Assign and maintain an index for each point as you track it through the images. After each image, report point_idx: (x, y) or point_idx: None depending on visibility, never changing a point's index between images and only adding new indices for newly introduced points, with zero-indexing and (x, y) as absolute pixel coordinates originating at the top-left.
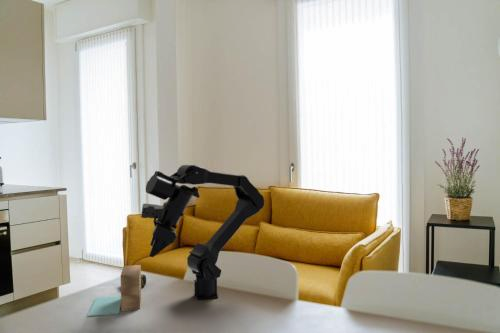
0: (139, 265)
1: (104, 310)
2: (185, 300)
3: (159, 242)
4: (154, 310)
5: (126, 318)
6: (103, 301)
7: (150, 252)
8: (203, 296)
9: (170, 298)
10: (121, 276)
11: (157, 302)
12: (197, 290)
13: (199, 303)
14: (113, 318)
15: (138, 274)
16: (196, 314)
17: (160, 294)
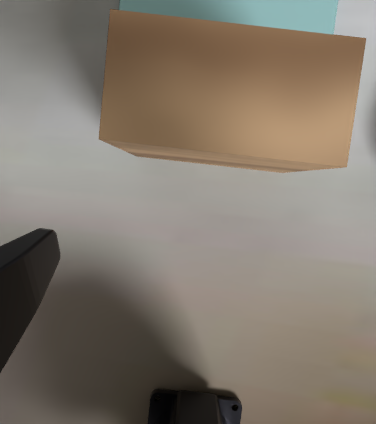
0: (332, 157)
1: (160, 9)
2: (168, 344)
3: None
4: (101, 211)
5: (54, 98)
6: (278, 3)
7: (5, 244)
8: (157, 421)
9: (216, 290)
10: (112, 19)
11: (188, 232)
12: (171, 416)
13: (114, 388)
14: (72, 48)
15: (100, 135)
16: None
17: (285, 256)
